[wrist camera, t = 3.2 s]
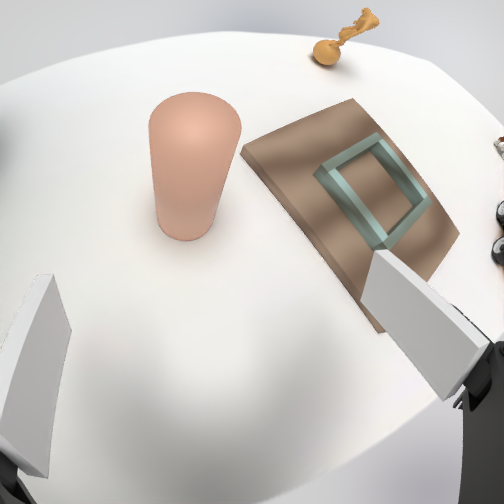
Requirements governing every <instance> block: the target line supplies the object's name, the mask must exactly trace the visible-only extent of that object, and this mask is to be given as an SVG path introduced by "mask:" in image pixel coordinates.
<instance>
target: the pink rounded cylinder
mask: <svg viewBox="0 0 504 504" xmlns="http://www.w3.org/2000/svg"><path fill="white" fill-rule="evenodd" d="M240 134H241V121H240V118H239V116H238V114H237V112H236V111H235V110H234V108H233V107H232V106H231V105H230V104H228V103H227V102H226V101H224V100H222V99H221V98H219V97H216V96H214V95H211V94H207V93H200V92H187V93H181V94H177V95H174V96H172V97H170V98H168V99H166V100H164V101H163V102H161V103H160V104H159V105H158V106H157V107H156V108H155V109H154V111H153V112H152V114H151V116H150V119H149V142H150V155H151V166H152V177H153V187H154V196H155V204H156V213H157V220H158V223H159V226H160V227H161V229H162V230H163V232H164V233H166V234H167V235H168V236H169V237H171V238H173V239H176V240H180V241H191V240H195V239H197V238H200V237H201V236H203V235H204V234H205V233H206V232H207V231H208V230H209V229H210V227H211V225H212V223H213V220H214V216H215V213H216V210H217V206H218V203H219V200H220V197H221V194H222V190H223V187H224V184H225V181H226V178H227V175H228V171H229V168H230V165H231V162H232V159H233V156H234V153H235V150H236V147H237V144H238V141H239V138H240Z"/></svg>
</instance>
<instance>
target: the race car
mask: <svg viewBox="0 0 504 504" xmlns="http://www.w3.org/2000/svg"><path fill="white" fill-rule="evenodd" d="M496 216H497V217H498V219H499V220H500V222H501V223H502V225H503V226H504V201H502V202H501V204H500V205H499V206H498V208H497V212H496ZM492 255H493V256H494V257H495V259H496V260H497V262H498V263H499V264H500V265H504V236H502V237H500V238H499V239H498V240H497V241H496V242H495V243H494V245H493V248H492Z"/></svg>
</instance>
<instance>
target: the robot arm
mask: <svg viewBox="0 0 504 504" xmlns="http://www.w3.org/2000/svg"><path fill="white" fill-rule="evenodd" d="M360 301H361V302H362V304H363V305H364V306H365V307H366V308H367V309H368V311H369V312H370V313H371V314H372V315H373V316H374V318H375V319H376V320H377V321H378V322H379V323H380V325H381V326H382V327H383V328H384V329H385V331H386V332H387V333H388V334H389V335H390V337H391V338H392V339H393V340H394V341H395V343H396V344H397V345H398V346H399V347H400V349H401V350H402V351H403V352H404V354H405V355H406V356H407V357H408V358H409V360H410V361H411V362H412V363H413V365H414V366H415V367H416V368H417V370H418V371H419V372H420V373H421V375H422V376H423V377H424V378H425V380H426V381H427V382H428V383H429V385H430V386H431V387H432V389H433V390H434V391H435V392H436V394H437V395H438V396H439V398H440V399H441V400H442V401H444V400H446V399H447V398H450V397H451V396H453V395H455V393H456V392H457V391H458V389H459V388H460V387H461V385H462V384H463V385H464V386H465V387H466V388H465V390H464V391H463V392H462V394H461V395H460V396H459V398H458V399H457V400H456V401H455V403H454V405H453V408H456V406H457V405H458V404H459V403H460V402H461V401H462V403H461V405H460V406H459V408H458V409H462V410H463V456H462V473H461V484H460V493H459V502H458V504H504V341H498V342H496V344H494V343H493V342H492V341H491V340H490V339H489V338H488V337H487V336H486V335H485V334H484V333H483V332H482V331H481V330H480V329H479V328H478V327H477V326H476V325H475V324H473V323H472V322H470V320H469V319H468V318H467V317H466V316H464V315H463V313H462V312H461V311H460V310H459V309H458V308H456V307H455V306H454V305H452V304H450V303H449V302H448V301H447V300H446V299H445V298H443V297H442V296H441V295H440V294H439V293H438V292H437V291H436V290H435V289H433V288H432V287H431V286H430V285H429V284H428V283H427V282H425V281H424V280H423V279H422V278H421V277H420V276H419V275H417V274H416V273H415V272H414V271H413V270H411V269H410V268H409V267H408V266H407V265H406V264H404V263H403V262H402V261H401V260H400V259H398V258H397V257H396V256H395V255H393V254H392V253H391V252H390V251H389V250H387V249H386V250H375V251H374V254H373V258H372V262H371V266H370V269H369V273H368V276H367V280H366V283H365V287H364V290H363V293H362V297H361V300H360ZM71 332H72V330H71V327H70V324H69V322H68V319H67V316H66V313H65V310H64V307H63V304H62V301H61V298H60V294H59V291H58V288H57V284H56V281H55V277H54V274H48V275H37V276H36V277H35V279H34V281H33V283H32V285H31V287H30V289H29V290H28V292H27V294H26V296H25V298H24V300H23V302H22V304H21V306H20V308H19V310H18V312H17V314H16V316H15V319H14V321H13V323H12V325H11V327H10V330H9V332H8V334H7V336H6V339H5V341H4V343H3V346H2V348H1V351H0V504H36V502H35V501H34V499H33V498H32V496H31V495H30V493H29V492H28V490H27V489H26V487H25V485H24V484H23V482H22V481H21V479H20V478H19V477H18V476H17V470H18V468H19V469H21V470H22V471H23V472H24V473H25V474H27V475H30V476H35V477H41V478H48V474H49V459H50V448H51V438H52V430H53V422H54V415H55V408H56V402H57V396H58V391H59V385H60V380H61V375H62V370H63V365H64V361H65V356H66V352H67V348H68V344H69V340H70V336H71Z"/></svg>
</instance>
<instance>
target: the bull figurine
mask: <svg viewBox="0 0 504 504" xmlns="http://www.w3.org/2000/svg"><path fill="white" fill-rule="evenodd" d="M500 142H504V137H500V138H499V139H498V140H497V141H496V142H495V146H496V147H497V146H498V144H499V143H500ZM503 150H504V145H503V146H502V148H501V151H503ZM501 155H502V158H503V160H504V152H503V154H501Z"/></svg>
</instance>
